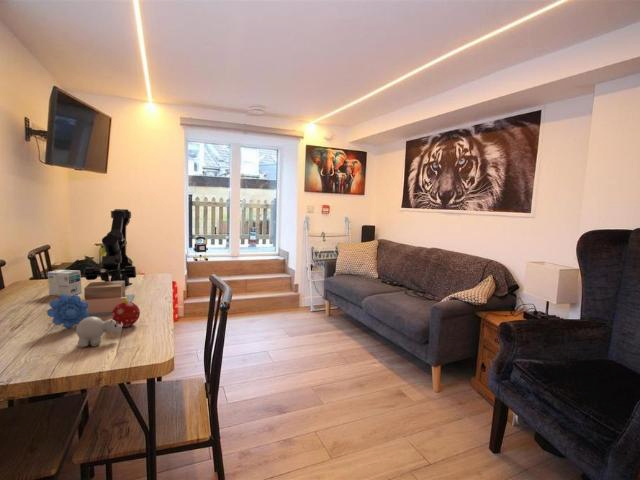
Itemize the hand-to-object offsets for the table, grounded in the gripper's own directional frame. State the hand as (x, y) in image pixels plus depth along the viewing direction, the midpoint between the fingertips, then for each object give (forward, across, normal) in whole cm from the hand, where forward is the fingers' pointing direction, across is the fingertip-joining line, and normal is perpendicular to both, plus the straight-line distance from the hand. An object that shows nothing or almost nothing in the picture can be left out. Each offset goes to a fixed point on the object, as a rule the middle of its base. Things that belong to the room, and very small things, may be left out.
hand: (108, 289), depth 138 cm
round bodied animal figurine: (+34, +4, -24) cm, 42 cm away
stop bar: (+13, 0, -4) cm, 14 cm away
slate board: (+6, 0, +4) cm, 7 cm away
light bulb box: (-12, -21, +22) cm, 33 cm away
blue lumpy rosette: (+23, -7, -13) cm, 27 cm away
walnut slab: (+7, 0, -2) cm, 7 cm away
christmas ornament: (+25, +10, -15) cm, 30 cm away
